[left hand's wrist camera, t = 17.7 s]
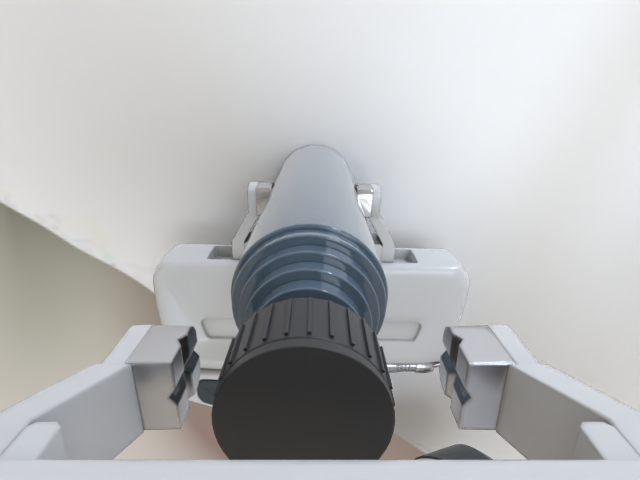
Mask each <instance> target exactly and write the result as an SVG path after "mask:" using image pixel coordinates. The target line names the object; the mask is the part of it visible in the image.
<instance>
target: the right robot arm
mask: <svg viewBox="0 0 640 480" xmlns="http://www.w3.org/2000/svg"><path fill="white" fill-rule="evenodd" d="M273 186H274V182H258V181H256V182H250V184H249V185H248V213H247V215H246V217H245V219H244V220H243V222H242V224H241V226H240V227H239V229H238V231H237V233H236V235H235V236H234V238H233V240H232V245H223V244H178V245H176V246H175V247H174V248H173V249H172V250H171V251H170V252H169V253H168V254H166V255H165V257H164V258H163V259H162V260H161V261H160V263H159V264H158V266H157V267H156V269H155V272H154V276H153V283H154V292H155V298H156V303H157V308H158V313H159V317H160V321H161V325H166V326H194V328H195V329H196V334H197V340H198V341H197V344H196V346H195V348H194V351H195V352H196V353H197V354H198V355H199V356H200V379H199V384H198V388H197V390H196V393H195V395H193V396H192V397H191V398H189V400H190V401H193V402H196V403H200V404H203V405H207V406H211V407H213V402H214V399H215V397H214V392H215V389H216V387H217V384H218V381H219V380H218V378H219V375H220V372H221V369H222V367H223V364H224V361H225V358H226V355H227V352H228V349H229V346H230V343H231V341H232V338H236V335H237V333H238V331H239V330H238V328H237V326H236V323H235V320H234V317H233V312H232V302H231V284H232V278H233V275H234V271H235V269H236V267H237V265H238V262H239V260H240V258H241V256H242V254H243V252H244V249H245V247H246V245H247V243H248V241H249V238H250V236H251V234H252V232H253V231H251V232H250V230H251V229H252V227H253V225H254V223H255V222H256V220H257V218H258V216H259V215H261V212H262V210H263V208H264V206H265V204H266V201H267V199H268V197H269V195H270V193H271V191H272V188H273ZM355 189H356V192H357V195H358V197H359V200H360V203H361V206H362V209H363V212H364V215H365V217H369V219H370V221H371V223H372V225H373V227H374V229H375V231H376V233H377V234H371V235H372V238H373V241H374V244H375V247H376V250H377V253H378V256H379V258H380V261H381V264H382V267H383V270H384V273H385V276H386V280H387V285H388V302H387V308H386V314H385V318H384V322H383V325H382V327H381V329H380V332H379V333H378V335H377V338H378V343H379V345H380V346H382V347H383V351H384V355H385V359H386V363H387V367H388V371H389V372H391V373H392V372H404V371H411V372H415V373H428V372H432V371H433V369H434V368H435V367H439V366H440V356H441V355H442V354H443V353H444V352H445V351H446V348H445V346H444V344H443V341H442V340H443V332H444V330H445V327H454V326H458V325H459V322H460V319H461V316H462V313H463V310H464V306H465V302H466V298H467V294H468V289H469V282H470V281H469V276H468V274H467V272H466V270H465V269H464V267H463V266H462V264H461V263H460V262H459V260H458V259H457V258H456V257H455V256H454V255H453V254H452V253H451V252H450V251H448V250H446V249H427V248H395V244H394V241H393V239H392V237H391V235H390V233H389V231H388V229H387V227H386V225H385V223H384V221H383V219H382V217H381V215H380V202H381V188H380V186H379V185H378V184H355ZM434 361H435V362H434ZM414 460H493V459H491V458H490V457H488V456H487V455H485V454H483V453H482V452H480V451H478V450H476V449H474V448H472V447H470V446H467V445H463V444H456V445H453V446H450V447H447V448H444V449H441V450H438V451H435V452H432V453H429V454H426V455H423V456H420V457H417V458H415V459H414Z"/></svg>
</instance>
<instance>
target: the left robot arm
mask: <svg viewBox="0 0 640 480" xmlns="http://www.w3.org/2000/svg"><path fill="white" fill-rule="evenodd" d="M197 341H198V340H197V334H196V329H195V328H194V326H166V325H154V326H153V325H134V326H131V327H130V328H129V329H128V331H127V332H126V333H125V334H124V335H123V337H122V338H121V339H120V341H119V342H118V343H117V344H116V346H115V347H114V348H113V349H112V351H111V352H110V353H109V354H108V356H107V357H106V358H105V359H104V361H103V362H102V363H101V364H94V365H91V366H89V367H88V368H86V369H84V370H82V371H80V372H78V373H76V374H74V375H72V376H70V377H68V378H66V379H64V380H62V381H60V382H58V383H56V384H54V385H52V386H50V387H48V388H46V389H44V390H42V391H40V392H38V393H36V394H34V395H32V396H30V397H28V398H26V399H24V400H22V401H20V402H18V403H16V404H14V405H12V406H11V407H9V408H7V409H5V410H3V411H1V412H0V480H640V412H639V411H637V410H635V409H633V408H631V407H629V406H627V405H625V404H623V403H621V402H619V401H617V400H615V399H613V398H612V397H610V396H608V395H606V394H604V393H602V392H600V391H598V390H596V389H594V388H592V387H590V386H588V385H586V384H584V383H582V382H580V381H578V380H576V379H574V378H572V377H570V376H568V375H566V374H564V373H562V372H560V371H558V370H556V369H554V368H552V367H550V366H549V365H547V364H539V363H538V362H537V361H536V359H535V358H534V357H533V356H532V354H531V353H530V352H529V351H528V349H527V348H526V347H525V346H524V344H523V343H522V342H521V341H520V339H519V338H518V337H517V336H516V334H515V333H514V332H513V331H512V329H511V328H510V327H509V326H507V325H488V326H454V327H445V330H444V332H443V340H442V341H443V344H444V346H445V348H446V351H445V352H444V353H443V354H442V355H441V356H440V367H439V368H440V380H441V384H442V388H443V390H444V393H445V395H447V396H448V397H449V398H451V407H450V408H451V410H452V413H453V415H454V418H455V420H456V422H457V425H458V427H459V429H474V430H496V432H497V433H498V434H499V435H500V436H502V437H503V438H504V439H505V440H506V441H507V442H508V443H509V444H511V445H512V446H513V447H514V448H515V449H516V450H517V451H519V452H520V453H521V454H522V455H523V456H524V457H525V458H527V459H528V460H112V459H114V458H115V457H116V456H117V455H118V454H119V453H120V452H122V451H123V450H124V449H125V448H126V447H127V446H128V445H130V444H131V443H132V442H133V441H134V440H135V439H136V438H137V437H139V436H140V435H141V434H142V433H143V432H144V431H143V430H165V429H181V427H182V425H183V422H184V420H185V417H186V415H187V413H188V410H189V398H191V397H192V396H193V395H195V393H196V390H197V388H198V384H199V379H200V356H199V355H198V354H197V353H196V352H195V351H194V348H195V346H196V344H197Z"/></svg>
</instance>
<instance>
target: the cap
mask: <svg viewBox="0 0 640 480" xmlns="http://www.w3.org/2000/svg"><path fill="white" fill-rule="evenodd" d="M218 380H219V381H218V384H217V387H216V389H215V392H214V397H215V399H214V402H213V407H212V425H213V430H214V434H215V437H216V439H217V442H218V444H219V445H220V447H221V449H222V451H223V452H224V453H225V454H226V456H227V457H228V458H229V459H230V460H378V459H379V458H380V457H381V456H382V454H383V453H384V452H385V450H386V449H387V447H388V445H389V443H390V440H391V437H392V434H393V431H394V425H395V411H394V406H395V403H394V398H393V394H392V390H391V389H393V388H392V384H391V380H390V376H389V371H388V367H387V363H386V359H385V355H384V351H383V347H382V346H380V345H379V343H378V338H377V334H376V332H375V331H374V332H373V331H372V330H371V328H370V327H369V326H368V324H367V323H366V321H365V319H364V318H361V317H359V316H358V315H357V314H355V313H354V312H353V311H351V310H350V308H348V307H347V308H346V307H344V306H342V305H339V304H337V303H334V302H332V301H331V300H329V301H327V300H323V299H317V298H313V297H309V298H293V299H292V298H289V299H288V300H283V301H280V302H277V303H274V304H273V303H271V304H270V305H269V306H267V307H265V308H263V309H262V310H260V311H259V312H254V313H253V316H252V317H251V318H250V319H248V320H247V322H246V323H245V324H241V325H240V328H239V331H238V333H237V335H236V338H232V341H231V343H230V346H229V349H228V352H227V355H226V358H225V361H224V364H223V367H222V369H221V372H220V375H219V378H218Z"/></svg>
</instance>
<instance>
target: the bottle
mask: <svg viewBox="0 0 640 480" xmlns="http://www.w3.org/2000/svg"><path fill="white" fill-rule="evenodd" d="M309 297H313V298H317V299H323V300H327V301H329V300H331V301H332V302H334V303H337V304H339V305H342V306H344V307H346V308H347V307H348V308H350V310H351V311H353V312H354V313H355V314H357V315H358V316H359V317H361V318H364V319H365V321H366V323H367V324H368V326H369V327H370V328H371V330H372V331H373V332H374V331H375V332H376V334H377V335H378V333H379V332H380V329H381V327H382V325H383V322H384V318H385V314H386V308H387V302H388V285H387V280H386V276H385V273H384V270H383V267H382V264H381V261H380V258H379V256H378V253H377V250H376V247H375V244H374V241H373V238H372V235H371V232H370V229H369V227H368V224H367V221H366V218H365V215H364V212H363V209H362V206H361V203H360V200H359V197H358V195H357V192H356V189H355V186H354V183H353V180H352V177H351V174H350V171H349V168H348V166H347V164H346V162H345V160H344V159H343V158H342V157H341V155H339V154H338V153H337V152H336V151H334V150H333V149H331V148H329V147H326V146H322V145H308V146H304V147H302V148H299V149H297V150H296V151H294V152H293V153H292V154H291V155H290V156H289V157H288V158H287V159H286V161H285V163H284V164H283V167H282V169H281V171H280V173H279V175H278V178H277V180H276V182H275V184H274V186H273V188H272V191H271V193H270V195H269V197H268V199H267V201H266V204H265V206H264V208H263V210H262V212H261V215H260V217H259V219H258V221H257V223H256V225H255V228H254V230H253V232H252V234H251V236H250V238H249V241H248V243H247V245H246V247H245V249H244V252H243V254H242V256H241V258H240V260H239V262H238V265H237V267H236V269H235V271H234V275H233V278H232V284H231V302H232V312H233V317H234V320H235V323H236V326H237V328H238V330H239V328H240V325H241V324H245V323H246V322H247V320H248V319H250V318H251V317H252V316H253V313H254V312H259V311H260V310H262V309H263V308H265V307H267V306H269V305H270V304H271V303H273V304H274V303H277V302H280V301H283V300H288V299H289V298H292V299H293V298H309Z"/></svg>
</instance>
